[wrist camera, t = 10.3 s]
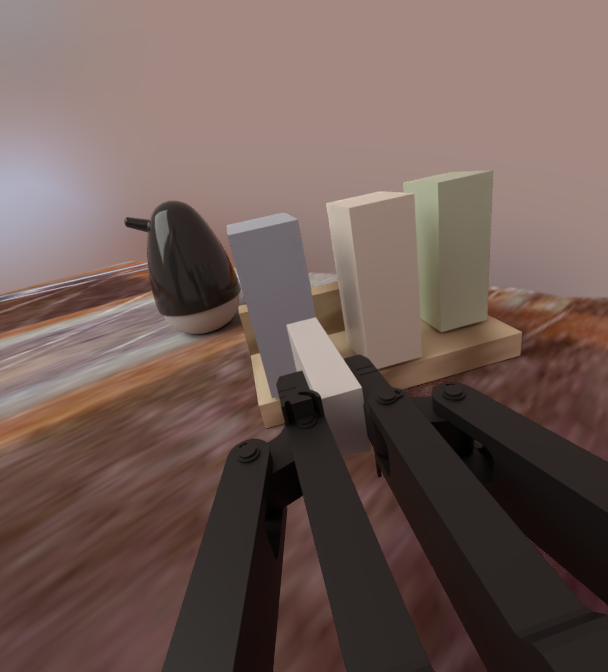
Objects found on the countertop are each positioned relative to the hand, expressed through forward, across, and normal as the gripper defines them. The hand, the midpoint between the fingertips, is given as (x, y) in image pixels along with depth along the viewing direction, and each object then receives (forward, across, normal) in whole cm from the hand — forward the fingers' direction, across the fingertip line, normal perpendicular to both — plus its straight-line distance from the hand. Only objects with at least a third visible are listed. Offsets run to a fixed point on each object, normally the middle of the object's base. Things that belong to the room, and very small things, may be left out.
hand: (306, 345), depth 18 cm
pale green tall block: (+10, +13, -6) cm, 18 cm away
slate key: (+7, -1, -6) cm, 9 cm away
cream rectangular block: (+7, +7, -6) cm, 11 cm away
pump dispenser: (+28, -9, -8) cm, 31 cm away
